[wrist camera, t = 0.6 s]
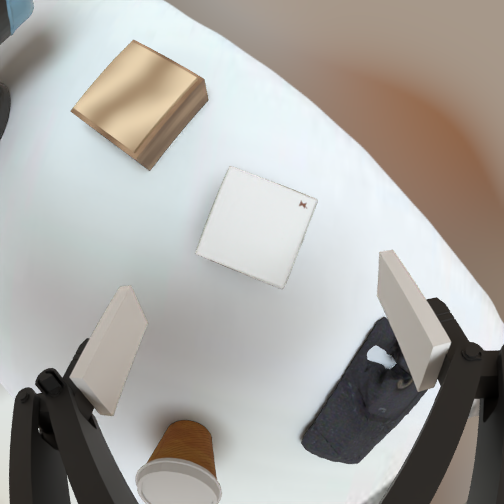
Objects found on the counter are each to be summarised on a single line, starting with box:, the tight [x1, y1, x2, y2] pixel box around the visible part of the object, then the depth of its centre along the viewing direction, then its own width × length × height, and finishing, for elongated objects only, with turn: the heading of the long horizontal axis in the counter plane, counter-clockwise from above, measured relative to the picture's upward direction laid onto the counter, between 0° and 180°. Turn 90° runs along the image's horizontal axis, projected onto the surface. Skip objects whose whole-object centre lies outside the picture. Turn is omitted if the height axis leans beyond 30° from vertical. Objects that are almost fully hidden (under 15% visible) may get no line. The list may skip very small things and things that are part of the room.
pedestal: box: [71, 40, 208, 171], centre depth 31 cm, size 11×11×6 cm
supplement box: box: [195, 166, 318, 289], centre depth 29 cm, size 7×7×13 cm
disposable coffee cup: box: [135, 420, 222, 504], centre depth 30 cm, size 10×10×12 cm
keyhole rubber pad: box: [301, 317, 428, 464], centre depth 36 cm, size 15×22×5 cm
